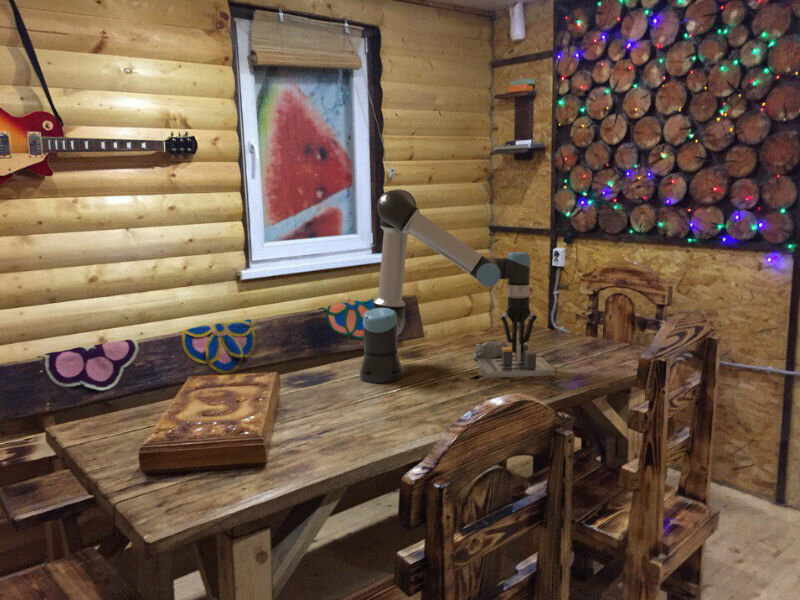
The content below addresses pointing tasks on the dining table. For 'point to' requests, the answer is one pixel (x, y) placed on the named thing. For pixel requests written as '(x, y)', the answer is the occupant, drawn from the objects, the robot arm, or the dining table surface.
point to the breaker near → (530, 359)
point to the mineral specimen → (488, 350)
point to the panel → (514, 368)
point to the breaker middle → (506, 355)
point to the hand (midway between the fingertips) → (517, 361)
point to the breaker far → (525, 347)
